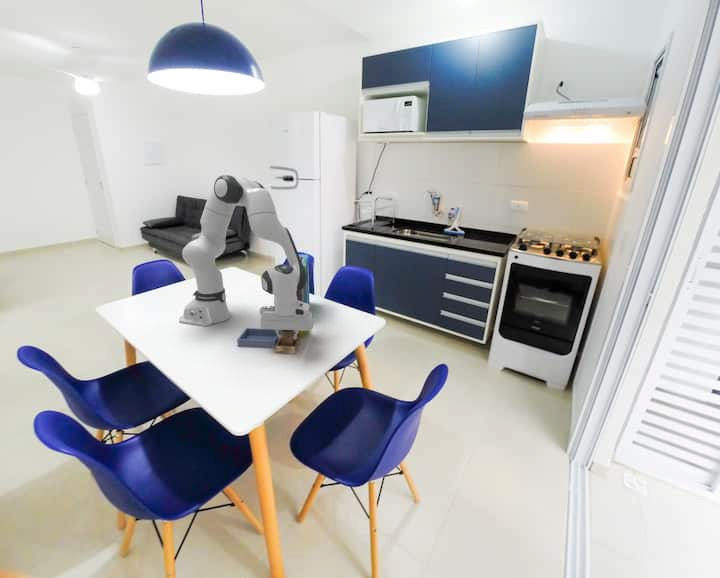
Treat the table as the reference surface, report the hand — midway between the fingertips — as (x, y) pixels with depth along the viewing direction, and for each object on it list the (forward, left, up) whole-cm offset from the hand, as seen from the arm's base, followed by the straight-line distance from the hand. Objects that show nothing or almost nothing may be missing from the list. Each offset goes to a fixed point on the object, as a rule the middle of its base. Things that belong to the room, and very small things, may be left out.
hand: (287, 338), depth 131 cm
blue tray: (-13, +5, -5) cm, 15 cm away
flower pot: (+2, +12, -5) cm, 13 cm away
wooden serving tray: (0, 0, -5) cm, 5 cm away
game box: (-2, +38, -5) cm, 38 cm away
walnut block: (0, 0, -2) cm, 2 cm away
